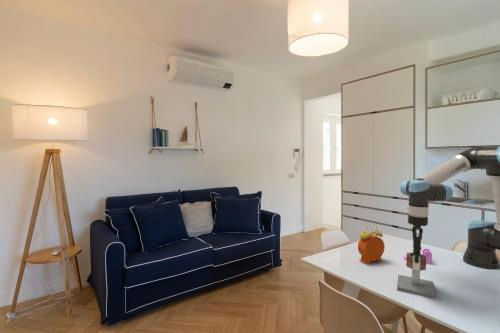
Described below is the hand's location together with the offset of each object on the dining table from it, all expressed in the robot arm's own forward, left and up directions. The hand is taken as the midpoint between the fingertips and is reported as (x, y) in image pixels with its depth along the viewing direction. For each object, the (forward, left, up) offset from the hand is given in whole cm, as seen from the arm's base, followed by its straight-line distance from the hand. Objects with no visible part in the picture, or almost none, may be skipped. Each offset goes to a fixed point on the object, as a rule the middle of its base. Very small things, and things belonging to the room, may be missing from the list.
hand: (415, 266), depth 122 cm
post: (0, 0, -10) cm, 10 cm away
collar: (0, 0, 0) cm, 0 cm away
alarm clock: (+21, -22, -10) cm, 32 cm away
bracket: (-1, -36, -10) cm, 37 cm away
